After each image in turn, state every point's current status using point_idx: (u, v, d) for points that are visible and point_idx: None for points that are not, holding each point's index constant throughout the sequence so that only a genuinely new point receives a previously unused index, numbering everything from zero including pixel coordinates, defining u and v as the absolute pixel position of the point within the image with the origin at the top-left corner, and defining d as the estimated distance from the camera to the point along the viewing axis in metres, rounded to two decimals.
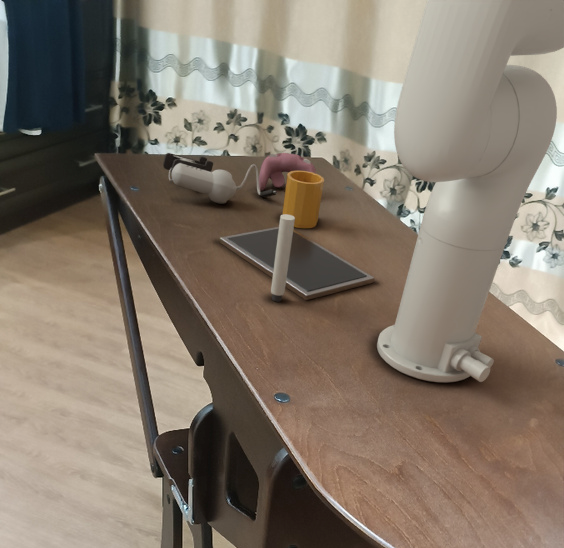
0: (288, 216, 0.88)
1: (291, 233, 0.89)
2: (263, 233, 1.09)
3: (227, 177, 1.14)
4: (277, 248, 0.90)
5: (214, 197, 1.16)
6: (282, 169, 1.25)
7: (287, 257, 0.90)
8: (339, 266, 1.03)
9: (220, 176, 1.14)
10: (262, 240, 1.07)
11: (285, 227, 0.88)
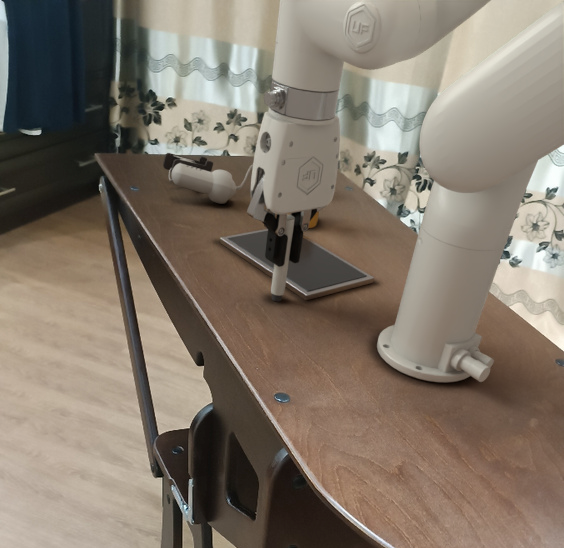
0: (288, 216, 0.88)
1: (291, 233, 0.88)
2: (263, 233, 1.09)
3: (227, 177, 1.14)
4: None
5: (214, 197, 1.16)
6: None
7: (287, 257, 0.90)
8: (339, 266, 1.03)
9: (220, 176, 1.14)
10: (262, 240, 1.07)
11: None
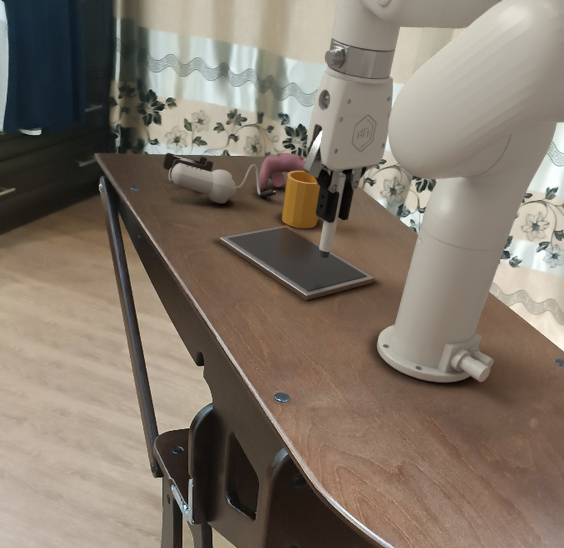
0: None
1: (342, 190, 0.93)
2: (263, 233, 1.09)
3: (227, 177, 1.14)
4: None
5: (214, 197, 1.16)
6: (282, 169, 1.25)
7: (336, 214, 0.95)
8: (339, 266, 1.03)
9: (220, 176, 1.14)
10: (262, 240, 1.07)
11: None
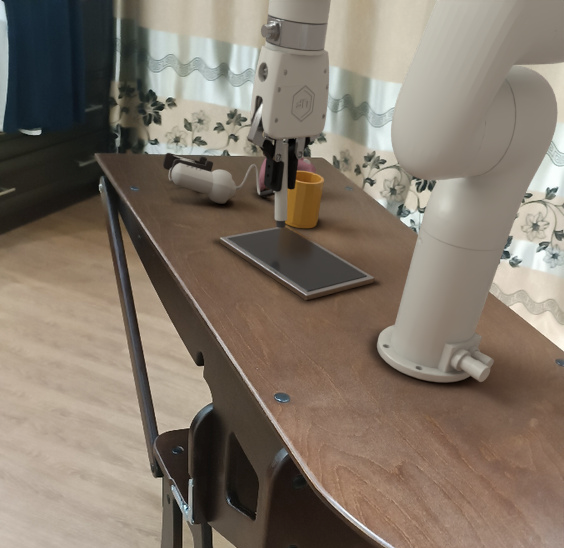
0: None
1: (286, 158, 0.99)
2: (263, 233, 1.09)
3: (227, 177, 1.14)
4: None
5: (214, 197, 1.16)
6: None
7: (285, 182, 1.00)
8: (339, 266, 1.03)
9: (220, 176, 1.14)
10: (262, 240, 1.07)
11: None
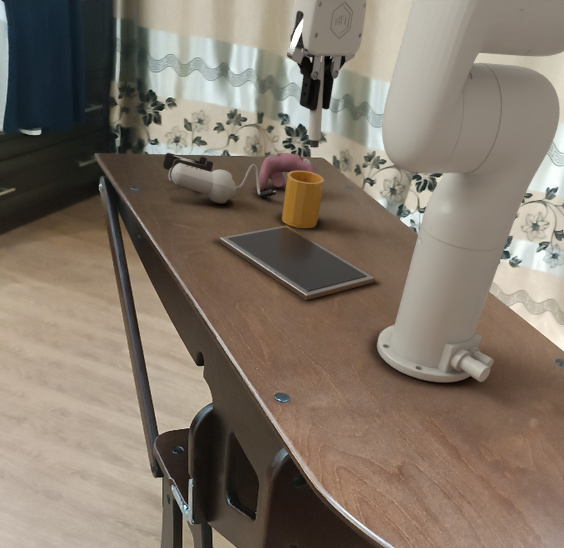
0: None
1: (322, 76, 1.02)
2: (263, 233, 1.09)
3: (227, 177, 1.14)
4: None
5: (214, 197, 1.16)
6: (282, 169, 1.25)
7: (320, 101, 1.04)
8: (339, 266, 1.03)
9: (220, 176, 1.14)
10: (262, 240, 1.07)
11: None
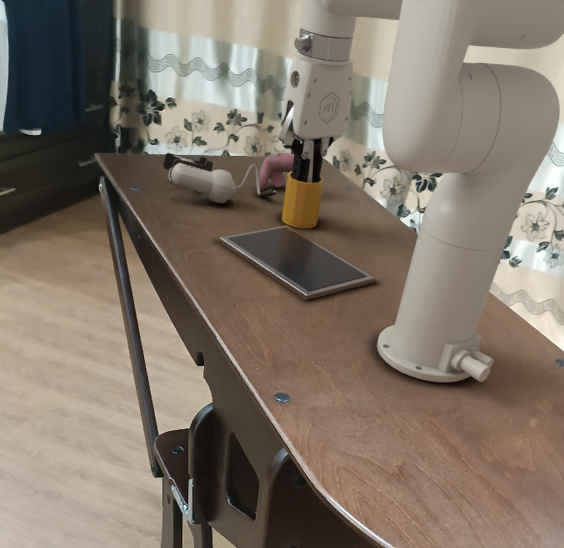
0: None
1: (312, 155, 1.10)
2: (263, 233, 1.09)
3: (227, 177, 1.14)
4: None
5: (214, 197, 1.16)
6: (282, 169, 1.25)
7: (310, 176, 1.11)
8: (339, 266, 1.03)
9: (220, 176, 1.14)
10: (262, 240, 1.07)
11: None
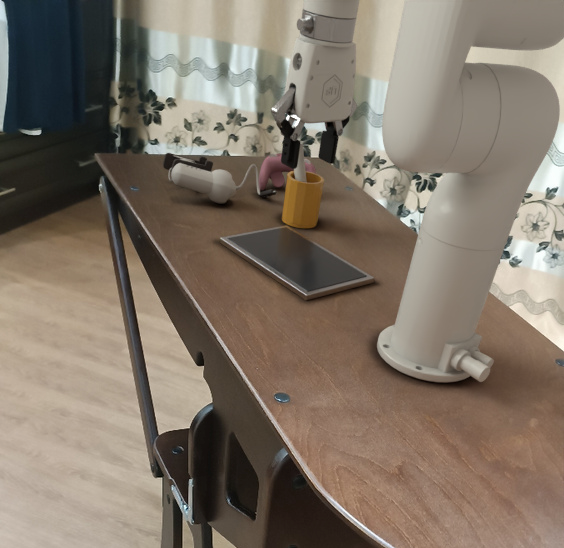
0: None
1: (302, 156, 1.11)
2: (263, 233, 1.09)
3: (227, 177, 1.14)
4: (295, 172, 1.12)
5: (214, 197, 1.16)
6: (282, 169, 1.25)
7: (304, 177, 1.12)
8: (339, 266, 1.03)
9: (220, 176, 1.14)
10: (262, 240, 1.07)
11: None
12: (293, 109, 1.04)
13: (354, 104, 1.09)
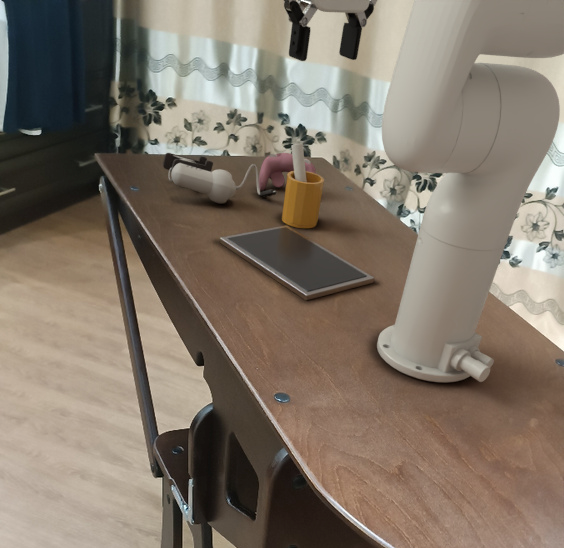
0: None
1: (302, 156, 1.11)
2: (263, 233, 1.09)
3: (227, 177, 1.14)
4: (295, 172, 1.12)
5: (214, 197, 1.16)
6: (282, 169, 1.25)
7: (304, 177, 1.12)
8: (339, 266, 1.03)
9: (220, 176, 1.14)
10: (262, 240, 1.07)
11: (296, 151, 1.11)
12: None
13: None
